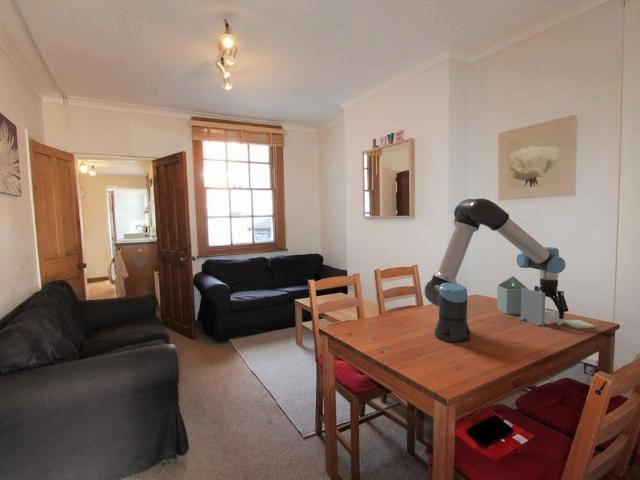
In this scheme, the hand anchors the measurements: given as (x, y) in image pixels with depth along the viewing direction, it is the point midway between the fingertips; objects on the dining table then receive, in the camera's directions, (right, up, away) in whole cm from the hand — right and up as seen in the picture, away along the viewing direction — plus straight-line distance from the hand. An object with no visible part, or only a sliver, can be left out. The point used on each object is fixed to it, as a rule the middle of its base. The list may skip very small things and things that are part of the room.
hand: (547, 321), depth 173 cm
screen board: (-8, 0, 0) cm, 8 cm away
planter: (-10, +1, +16) cm, 19 cm away
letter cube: (0, 0, 0) cm, 0 cm away
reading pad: (+11, -1, -6) cm, 12 cm away
